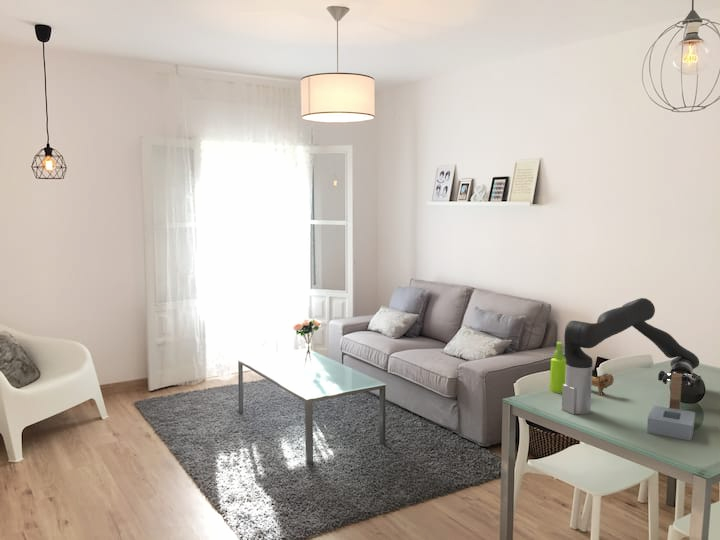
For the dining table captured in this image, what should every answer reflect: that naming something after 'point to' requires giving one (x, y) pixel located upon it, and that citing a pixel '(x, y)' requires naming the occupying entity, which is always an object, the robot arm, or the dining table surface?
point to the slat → (675, 391)
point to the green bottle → (557, 370)
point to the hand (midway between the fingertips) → (678, 383)
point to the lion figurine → (602, 382)
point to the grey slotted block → (671, 422)
